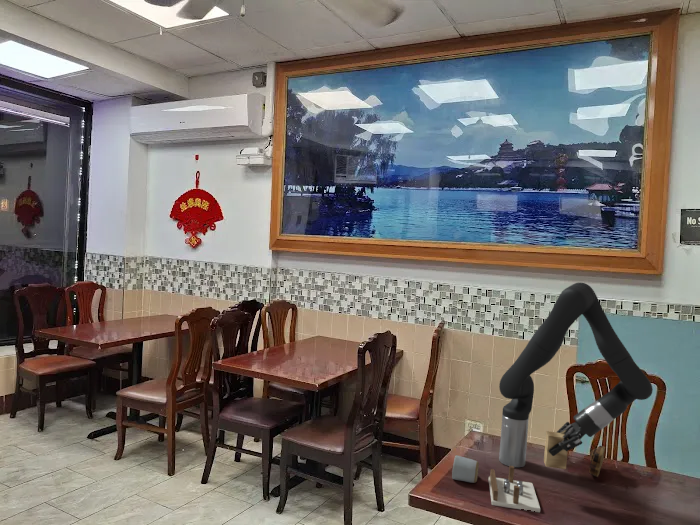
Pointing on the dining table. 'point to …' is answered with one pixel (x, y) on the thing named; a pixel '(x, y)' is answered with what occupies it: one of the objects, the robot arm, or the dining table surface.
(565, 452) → the oak block
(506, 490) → the pegs
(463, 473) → the ceramic mug
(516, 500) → the walnut frame
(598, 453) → the wooden carving
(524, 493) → the peg stand
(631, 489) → the dining table surface
